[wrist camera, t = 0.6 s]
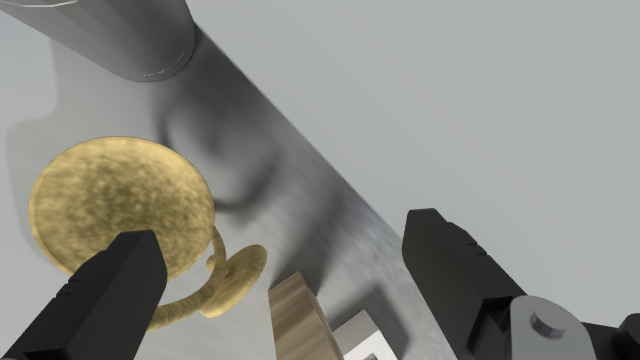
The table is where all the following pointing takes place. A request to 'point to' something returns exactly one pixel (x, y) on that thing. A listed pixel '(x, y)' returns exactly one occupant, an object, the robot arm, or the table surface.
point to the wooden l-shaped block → (300, 323)
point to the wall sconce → (138, 217)
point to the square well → (362, 339)
